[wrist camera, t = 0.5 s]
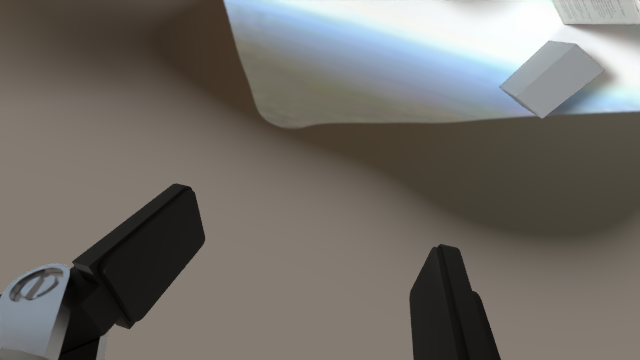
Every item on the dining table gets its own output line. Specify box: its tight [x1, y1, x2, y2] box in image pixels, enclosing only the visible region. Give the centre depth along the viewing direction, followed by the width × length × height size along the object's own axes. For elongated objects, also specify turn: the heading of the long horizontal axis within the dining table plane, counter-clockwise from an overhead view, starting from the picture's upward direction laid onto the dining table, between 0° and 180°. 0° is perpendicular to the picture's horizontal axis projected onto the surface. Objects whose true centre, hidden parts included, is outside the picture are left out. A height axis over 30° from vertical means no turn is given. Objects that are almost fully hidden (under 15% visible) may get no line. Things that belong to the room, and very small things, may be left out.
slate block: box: [499, 41, 605, 118], centre depth 28 cm, size 6×4×5 cm, turn 147°
